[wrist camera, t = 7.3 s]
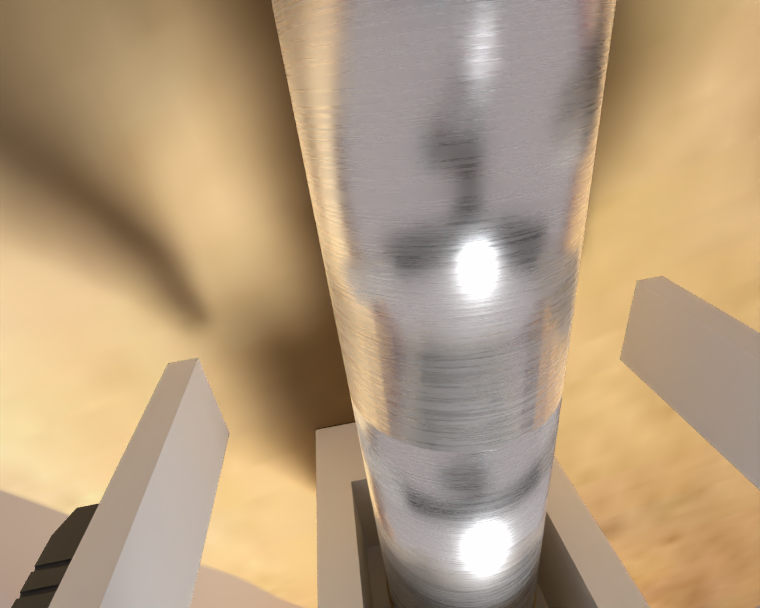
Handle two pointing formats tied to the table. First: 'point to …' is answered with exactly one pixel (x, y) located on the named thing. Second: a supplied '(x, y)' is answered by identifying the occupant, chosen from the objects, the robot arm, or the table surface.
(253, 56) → the table surface
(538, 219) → the tube
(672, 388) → the robot arm
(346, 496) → the socket block
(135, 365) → the table surface
